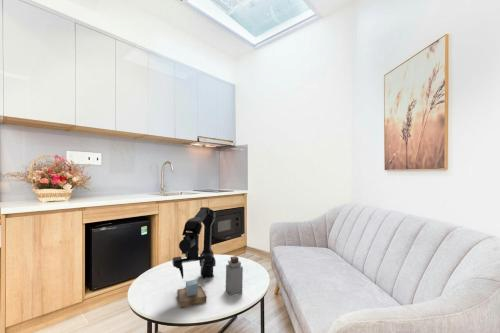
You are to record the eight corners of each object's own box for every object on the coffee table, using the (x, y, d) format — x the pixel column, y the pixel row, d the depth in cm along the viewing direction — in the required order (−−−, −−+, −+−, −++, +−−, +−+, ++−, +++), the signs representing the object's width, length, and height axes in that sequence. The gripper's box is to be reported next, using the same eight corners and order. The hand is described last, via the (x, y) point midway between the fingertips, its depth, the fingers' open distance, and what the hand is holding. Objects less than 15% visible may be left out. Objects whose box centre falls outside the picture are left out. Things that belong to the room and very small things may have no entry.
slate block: (195, 289, 116) (195, 279, 116) (197, 294, 112) (198, 283, 112) (185, 291, 114) (186, 281, 114) (187, 296, 109) (187, 285, 110)
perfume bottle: (230, 296, 116) (231, 260, 116) (225, 290, 122) (226, 256, 122) (242, 293, 119) (242, 258, 120) (237, 287, 125) (237, 254, 126)
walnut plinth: (200, 290, 121) (200, 284, 121) (206, 302, 110) (206, 296, 110) (177, 295, 116) (177, 289, 116) (181, 308, 105) (181, 301, 105)
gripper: (206, 239, 125) (206, 267, 124) (171, 243, 117) (170, 273, 116) (212, 244, 115) (211, 275, 114) (174, 249, 107) (173, 283, 106)
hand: (192, 276), depth 113 cm, fingers open, 9 cm apart
